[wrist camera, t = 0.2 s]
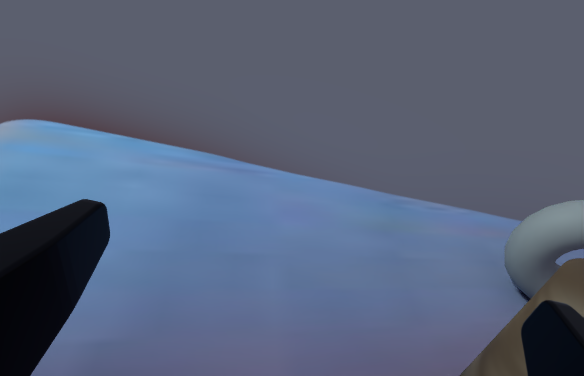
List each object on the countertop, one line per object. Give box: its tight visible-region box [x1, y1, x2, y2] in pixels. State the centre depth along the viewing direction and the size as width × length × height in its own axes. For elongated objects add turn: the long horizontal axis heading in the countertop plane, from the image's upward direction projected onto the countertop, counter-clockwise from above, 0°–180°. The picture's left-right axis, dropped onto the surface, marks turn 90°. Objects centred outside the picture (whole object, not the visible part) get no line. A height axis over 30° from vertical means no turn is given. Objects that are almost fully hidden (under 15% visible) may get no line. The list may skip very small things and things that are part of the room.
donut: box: [505, 200, 584, 299], centre depth 28 cm, size 10×4×10 cm, turn 71°
